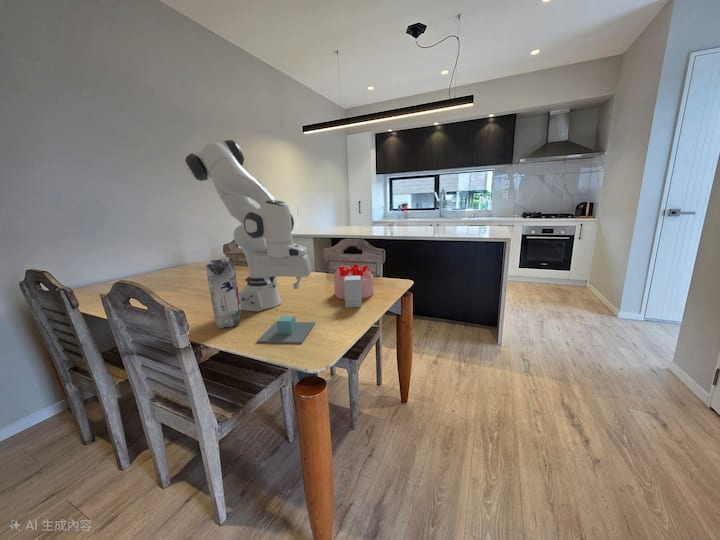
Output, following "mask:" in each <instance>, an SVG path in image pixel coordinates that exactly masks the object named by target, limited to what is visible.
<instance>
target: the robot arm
mask: <svg viewBox="0 0 720 540" xmlns="http://www.w3.org/2000/svg"><path fill="white" fill-rule="evenodd" d="M184 162H185V167H186V170H187V171H188V173H189V174H190V175H191V176H192V177H193V178H194V179H195V180H197V181H199V182H201V181H202V182H203V181H207V180H209V179H212V180H211V181H212V183H213V185H214V189H215V190H216V192H217V194H218V196H219V198H220V200H221V201H222V203H223V204H224V206H225V208H226V209H227V211H228V213H229V215H230V216H231V217H232V218H234V219H236V220H237V221H238V222H239V223H240V225H239V224H238V226H236V228H235V229H234V231H233V239H234V241H235V243H236V244H237V245H238V246H239V247H240V248H241V250H242V251H243V254H244V256H245V258H246V259H245V260H246V263H247V267H248V275H249V276H247V277H246V278H244V282H245V283H246V284H245V286H243V288H241V289H240V290H238V292H239V299H240V305H241V311H248V312H261V311H263V310H268V309H272V308H275V307H277V306H279V305H281V304H282V299H281V297H280V294H279V290H278V282H277V281H278V279H277V277H291V278H292V277H295V280H297V281H296V282H294V283H293V285H292V286H293V289H294V290H295V289H296V290H298V289H300V282H301V281H302V278H304V277H305V278H306V277H309V276H310V275H311V274H312V263H311V259H310V257H309V255H308V254H307V253H308V248H307V247H306V246H304V245H300V244H297V243H294V239H293V236H292V232H293V230H294V226H295V220H294V217H293V215H292V214H291V211H290V208H289V204H288V203H286V202H285V201H282V200H277V199H275V198H274V196H273V195H272V194H271V193H270V191H269V190H268V189H267V188H266V186H264V185H263V184H262V183H261V182H260V181H259V180H258V179H256V178H255V177H254V176H253V175H251V174H250V173H249V172H248V171H247V170H246V169H245V168H244V167H243V165H244V163H245V156H244V152H243V149H242V148H241V146H240V145H239V144H238V143H237V141H235V140H234V139H228V140H223V141H221V142H216V141H215V142H214V141H211V142H208V143H207V144H205V146H204V147H202V148H201V149H199V150H197V151H195V152H191V153H190V154H188V155H187V156H185V159H184ZM254 202H256V203H257V204H258V205H259V206H260V207H257V205H256V204H255V203H254Z"/></svg>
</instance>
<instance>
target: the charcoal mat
mask: <svg viewBox="0 0 720 540" xmlns="http://www.w3.org/2000/svg"><path fill="white" fill-rule="evenodd" d="M315 324H316V322H313V321H310V322H309V321H296V330H295V331H294V332H293V333H292V334H278V328H277V321H275V322H274V323H273V324H272V325H271V326H270V327H269V328H268V329H267V330H266V331H265V332H264V333H263V334H262V335H261V336H260V337H258V339H257V341H256V343H257V342H266V343H265V344H285V343H293V344H294V345H302V344H303V343H304V341H305V340H306V338H307V337H308V335H309V334H310V332H311V331H312V329H313V328H314V326H315Z"/></svg>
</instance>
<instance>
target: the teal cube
mask: <svg viewBox="0 0 720 540" xmlns="http://www.w3.org/2000/svg"><path fill="white" fill-rule="evenodd" d="M276 322H277V328H278V334H292V333H293V332H294V331H295V330H296V322H297V321H296V315H281V316H280V317H279V318H278V319H277V320H276Z"/></svg>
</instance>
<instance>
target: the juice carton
mask: <svg viewBox="0 0 720 540" xmlns="http://www.w3.org/2000/svg"><path fill="white" fill-rule="evenodd" d="M205 267H206V278H207V282H208V288H209V294H210V295H209V296H210V300H211V305H212V310H213V317H214V321H215V324H216V326H217V329H219V328H222V329H225V328H224V327H229V328H233V327H232V326H236V327H238V326H239V323H240V321H241V318H242V317H241V316H242V310H241V305H240V299H239V288H238V281H237V274H236V267H235V264H234V261H233V258H230V257H229V256H222V257H221V256H220V259H212V260H210V263H207V264H206V265H205Z"/></svg>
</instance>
